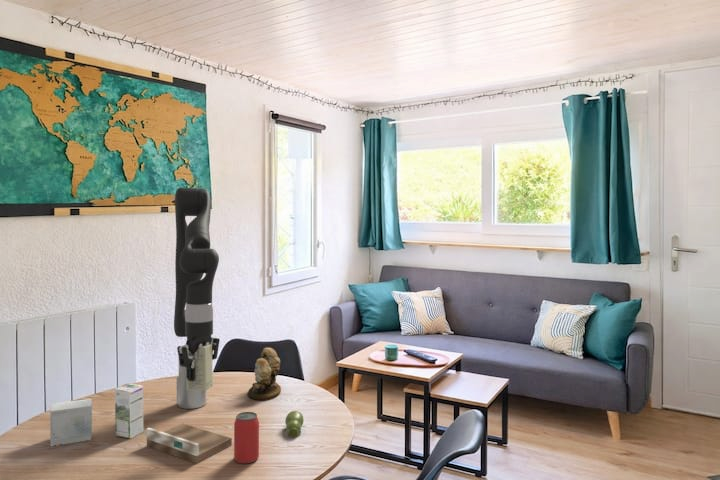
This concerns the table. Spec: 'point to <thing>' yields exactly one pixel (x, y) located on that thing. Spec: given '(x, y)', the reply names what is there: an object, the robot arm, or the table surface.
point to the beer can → (246, 437)
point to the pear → (294, 423)
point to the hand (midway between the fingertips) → (199, 377)
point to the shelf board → (187, 442)
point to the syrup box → (129, 410)
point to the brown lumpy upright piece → (266, 376)
